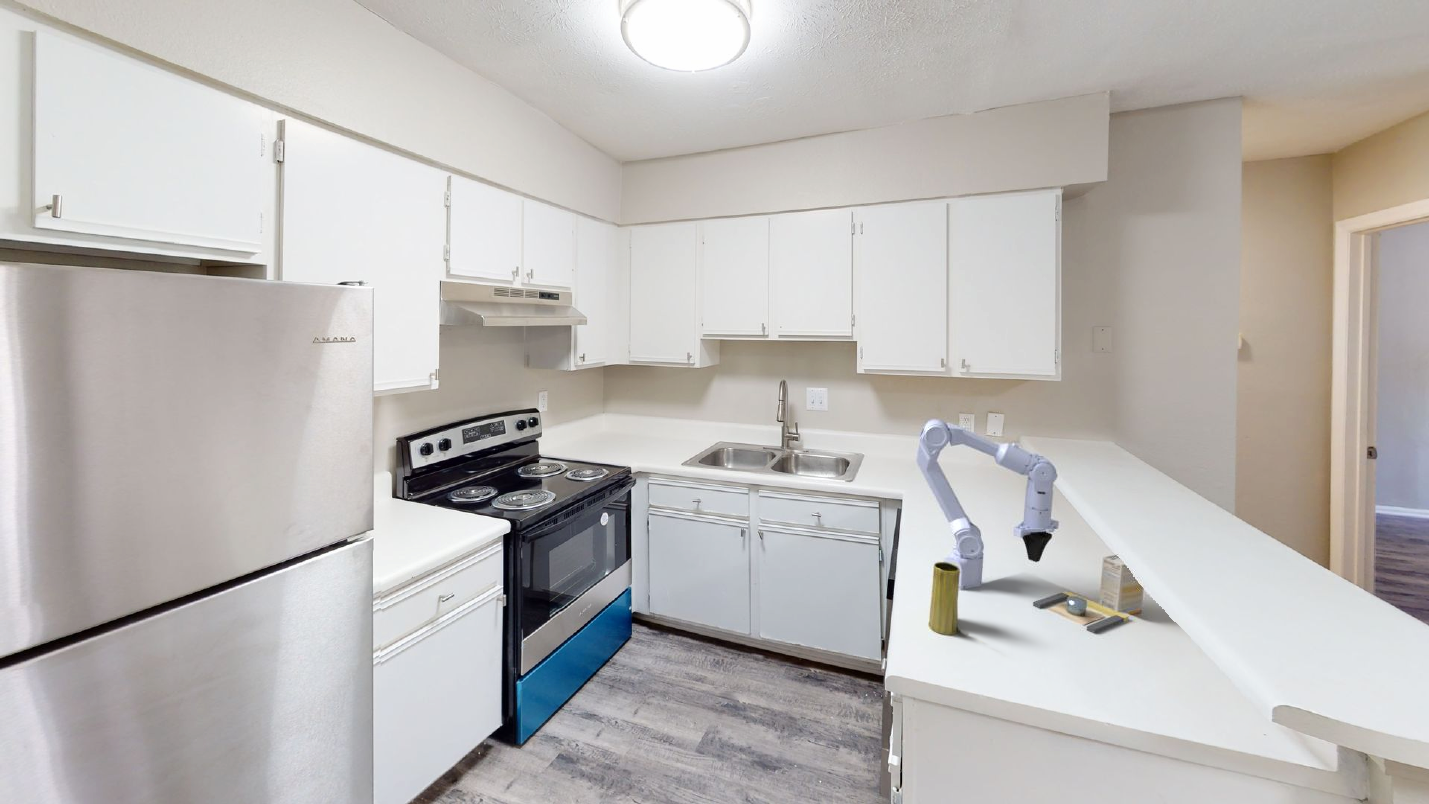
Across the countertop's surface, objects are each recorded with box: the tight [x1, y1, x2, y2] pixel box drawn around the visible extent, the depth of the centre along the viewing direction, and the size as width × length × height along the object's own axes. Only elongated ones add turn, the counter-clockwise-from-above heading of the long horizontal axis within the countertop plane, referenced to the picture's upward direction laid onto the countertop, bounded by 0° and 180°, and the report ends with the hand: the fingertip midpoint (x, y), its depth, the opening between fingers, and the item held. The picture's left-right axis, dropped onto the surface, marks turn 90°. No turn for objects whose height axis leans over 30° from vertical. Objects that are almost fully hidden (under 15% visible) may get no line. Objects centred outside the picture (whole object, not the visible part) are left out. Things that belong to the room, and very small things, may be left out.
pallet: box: [1047, 601, 1106, 626], centre depth 129 cm, size 8×8×2 cm
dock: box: [1032, 590, 1129, 634], centre depth 129 cm, size 13×14×2 cm
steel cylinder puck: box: [1066, 596, 1088, 617], centre depth 129 cm, size 4×4×3 cm
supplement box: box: [1098, 554, 1145, 616], centre depth 132 cm, size 8×5×13 cm, turn 109°
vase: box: [928, 561, 960, 636], centre depth 124 cm, size 6×6×14 cm
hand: (1033, 560), depth 139 cm, fingers closed
